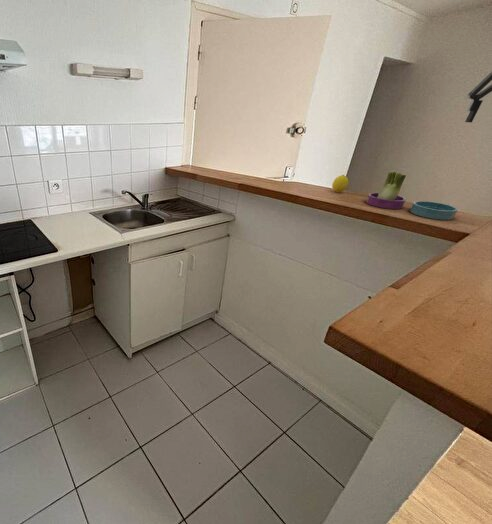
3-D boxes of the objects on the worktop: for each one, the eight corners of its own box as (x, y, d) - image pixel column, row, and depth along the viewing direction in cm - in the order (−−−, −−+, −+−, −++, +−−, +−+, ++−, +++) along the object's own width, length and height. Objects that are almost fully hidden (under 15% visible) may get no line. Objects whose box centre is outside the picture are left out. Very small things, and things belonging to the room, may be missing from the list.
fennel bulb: (394, 206, 105) (409, 174, 100) (380, 206, 106) (393, 173, 100) (386, 202, 110) (399, 171, 105) (372, 201, 111) (385, 170, 105)
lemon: (344, 192, 125) (351, 174, 121) (343, 195, 121) (350, 176, 117) (330, 191, 127) (336, 172, 124) (329, 193, 124) (335, 175, 120)
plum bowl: (397, 203, 111) (401, 194, 109) (406, 211, 102) (410, 202, 100) (363, 200, 115) (366, 191, 113) (368, 207, 106) (372, 198, 105)
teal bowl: (444, 212, 101) (449, 203, 99) (458, 223, 92) (464, 213, 90) (405, 208, 105) (409, 199, 103) (415, 218, 96) (420, 208, 95)
